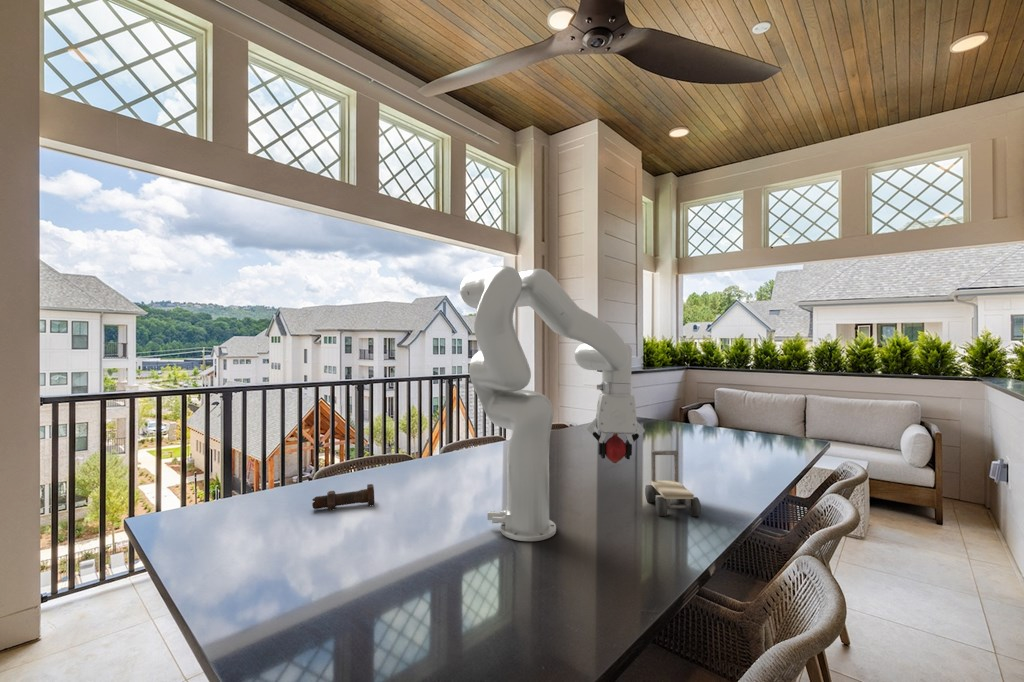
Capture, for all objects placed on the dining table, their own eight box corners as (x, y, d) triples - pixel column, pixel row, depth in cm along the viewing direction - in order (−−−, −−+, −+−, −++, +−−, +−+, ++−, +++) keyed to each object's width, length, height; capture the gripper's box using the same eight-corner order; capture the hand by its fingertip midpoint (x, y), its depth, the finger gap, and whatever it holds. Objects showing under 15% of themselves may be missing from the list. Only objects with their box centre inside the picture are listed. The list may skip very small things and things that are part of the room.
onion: (628, 466, 122) (628, 435, 122) (605, 465, 122) (606, 434, 122) (623, 461, 128) (624, 431, 128) (601, 460, 128) (602, 430, 128)
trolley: (700, 518, 114) (700, 462, 114) (660, 518, 114) (660, 462, 114) (680, 499, 128) (680, 449, 128) (645, 499, 128) (644, 449, 129)
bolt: (313, 517, 121) (374, 508, 126) (311, 513, 117) (374, 503, 122) (313, 494, 124) (372, 486, 129) (311, 489, 120) (373, 481, 125)
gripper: (585, 389, 122) (584, 460, 121) (652, 391, 122) (651, 462, 121) (582, 387, 129) (580, 453, 129) (645, 389, 129) (643, 456, 128)
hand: (614, 457), depth 125 cm, fingers closed on onion, 5 cm apart
